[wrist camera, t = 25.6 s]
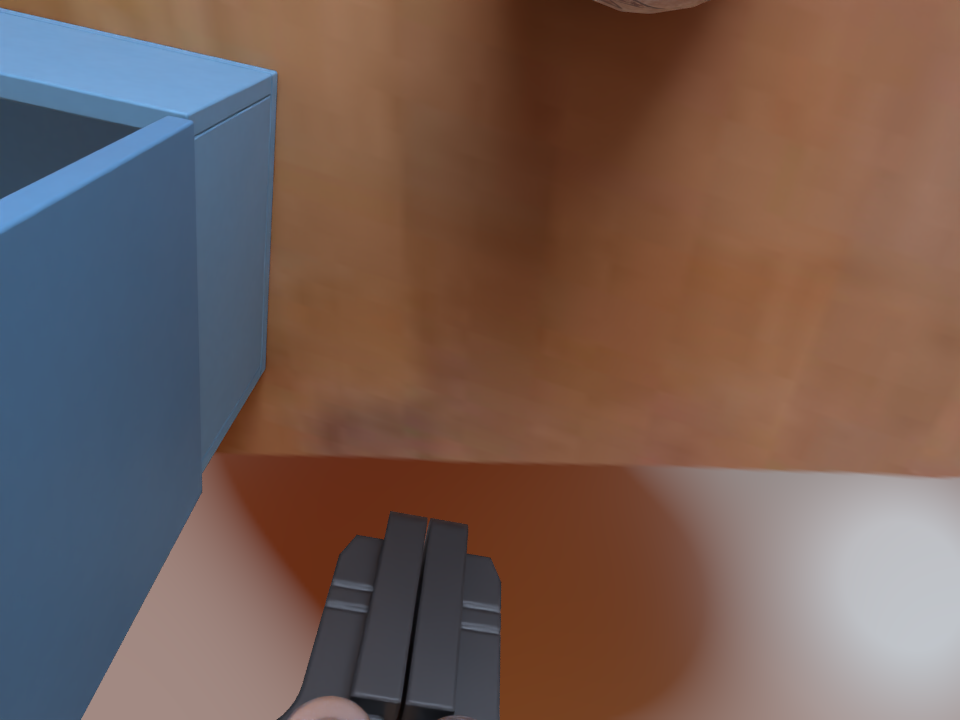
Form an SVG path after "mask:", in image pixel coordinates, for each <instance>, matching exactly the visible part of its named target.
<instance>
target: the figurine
mask: <svg viewBox="0 0 960 720" xmlns="http://www.w3.org/2000/svg"><path fill="white" fill-rule="evenodd" d="M593 1H596V2H598V3H601V4H604V5H606V6H609V7H611V8H614V9H616V10H619V11H622V12H634V13H645V14H652V13H658V12H665V11H671V10H678V9H684V8H691V7H694V6H697V5H699V4H701V3H704V2H707V1H709V0H593Z"/></svg>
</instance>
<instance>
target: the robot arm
mask: <svg viewBox="0 0 960 720" xmlns="http://www.w3.org/2000/svg"><path fill="white" fill-rule="evenodd" d="M426 526H427V518H426V517H421V516H415V515H409V514H403V513H397V512H392V511H390V515H389V520H388V524H387V529H386V534H385V538H384V540H383V539H378V538H372V537H366V536H360V535H356V537H355V538H354V539H353V540H352V541H351V542H350V543H349V545H348V546H347V547H346V548H345V549H344V550H343V551H342V552H341V554H340V555H339V558H338V561H337V565H336V568H335V572H334V575H333V579H332V583H331V586H330V589H329V593H328V596H327V600H326V604H325V607H324V611H323V614H322V617H321V621H320V624H319V628H318V631H317V635H316V638H315V642H314V645H313V649H312V653H311V656H310V660H309V663H308V667H307V670H306V674H305V677H304V681H303V684H302V687H301V690H300V692H299V694H298V696H297V698H296V700H295V701H294V703H293V704H292V706H291V707H290V708H289V709H288V710H287V711H286V712H285V713H284V714H283V715H282V716H281V717H280V718H278V719H277V720H500V717H499V704H500V698H499V697H500V628H501V614H500V609H501V581H500V579H499V576H498V574H497V572H496V569H495V567H494V565H493V562H492V560H491V558H489V557H483V556H478V555H471V554H466V552H467V538H468V525H467V524H461V523H456V522H450V521H444V520H439V519H433V518H431V519H430V522H429V526H428V530H427V535H426V539H425V533H426ZM424 541H425V543H424ZM423 547H424V548H423Z"/></svg>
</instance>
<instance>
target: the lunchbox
mask: <svg viewBox="0 0 960 720" xmlns="http://www.w3.org/2000/svg"><path fill="white" fill-rule="evenodd" d="M277 76H278V74H277V72H276V71H273V70H269V69H264V68H260V67H256V66H251V65H247V64H243V63H238V62H234V61H230V60H225V59H221V58H216V57H212V56H208V55H203V54H199V53H195V52H190V51H186V50H182V49H177V48H173V47H168V46H164V45H160V44H155V43H151V42H147V41H142V40H138V39H134V38H129V37H125V36H120V35H116V34H112V33H107V32H103V31H99V30H94V29H90V28H86V27H81V26H77V25H72V24H68V23H64V22H59V21H55V20H51V19H46V18H42V17H38V16H33V15H29V14H24V13H20V12H16V11H11V10H7V9H3V8H0V199H2V198H4V197H6V196H8V195H10V194H12V193H14V192H16V191H18V190H20V189H22V188H24V187H26V186H28V185H30V184H32V183H34V182H36V181H38V180H40V179H42V178H44V177H46V176H48V175H50V174H52V173H54V172H56V171H58V170H60V169H62V168H64V167H66V166H68V165H70V164H72V163H74V162H76V161H78V160H80V159H82V158H84V157H86V156H88V155H90V154H92V153H94V152H96V151H98V150H100V149H102V148H104V147H106V146H108V145H110V144H112V143H114V142H116V141H118V140H120V139H122V138H124V137H126V136H128V135H130V134H132V133H134V132H136V131H138V130H140V129H142V128H144V127H146V126H148V125H150V124H152V123H154V122H156V121H158V120H160V119H162V118H164V117H166V116H173V117H178V118H183V119H187V120H191V121H193V123H194V148H195V192H196V237H197V282H198V327H199V372H200V416H201V461H202V473H203V471H204V470H205V468H206V466H207V465H208V463H209V461H210V460H211V458H212V456H213V455H214V453H215V451H216V450H217V448H218V446H219V445H220V443H221V441H222V440H223V438H224V436H225V435H226V433H227V431H228V430H229V428H230V426H231V425H232V423H233V421H234V420H235V418H236V417H237V415H238V413H239V412H240V410H241V408H242V407H243V405H244V403H245V402H246V400H247V398H248V397H249V395H250V393H251V392H252V390H253V388H254V387H255V385H256V383H257V382H258V380H259V378H260V376H261V375H262V373H263V372H264V370H265V363H266V339H267V315H268V291H269V267H270V243H271V219H272V195H273V171H274V147H275V124H276V100H277Z"/></svg>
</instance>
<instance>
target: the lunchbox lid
mask: <svg viewBox="0 0 960 720" xmlns="http://www.w3.org/2000/svg"><path fill="white" fill-rule="evenodd" d="M201 493H202V461H201V416H200V372H199V327H198V282H197V237H196V192H195V148H194V123H193V121H191V120H187V119H183V118H178V117H173V116H166V117H164V118H162V119H160V120H158V121H156V122H154V123H152V124H150V125H148V126H146V127H144V128H142V129H140V130H138V131H136V132H134V133H132V134H130V135H128V136H126V137H124V138H122V139H120V140H118V141H116V142H114V143H112V144H110V145H108V146H106V147H104V148H102V149H100V150H98V151H96V152H94V153H92V154H90V155H88V156H86V157H84V158H82V159H80V160H78V161H76V162H74V163H72V164H70V165H68V166H66V167H64V168H62V169H60V170H58V171H56V172H54V173H52V174H50V175H48V176H46V177H44V178H42V179H40V180H38V181H36V182H34V183H32V184H30V185H28V186H26V187H24V188H22V189H20V190H18V191H16V192H14V193H12V194H10V195H8V196H6V197H4V198H2V199H0V720H81V718H82V716H83V715H84V713H85V711H86V709H87V707H88V705H89V703H90V701H91V700H92V698H93V696H94V694H95V692H96V690H97V688H98V687H99V685H100V683H101V681H102V679H103V677H104V675H105V673H106V672H107V670H108V668H109V666H110V664H111V662H112V660H113V658H114V656H115V654H116V653H117V651H118V649H119V647H120V645H121V643H122V641H123V640H124V638H125V636H126V634H127V632H128V630H129V628H130V626H131V625H132V623H133V621H134V619H135V617H136V615H137V613H138V611H139V610H140V608H141V606H142V604H143V602H144V600H145V598H146V596H147V594H148V592H149V591H150V589H151V587H152V585H153V583H154V581H155V579H156V578H157V576H158V574H159V572H160V570H161V568H162V566H163V564H164V563H165V561H166V559H167V557H168V555H169V553H170V551H171V549H172V548H173V546H174V544H175V542H176V540H177V538H178V536H179V534H180V533H181V530H182V528H183V527H184V525H185V523H186V521H187V519H188V518H189V516H190V514H191V512H192V510H193V508H194V506H195V504H196V502H197V501H198V499H199V497H200V495H201Z"/></svg>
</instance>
